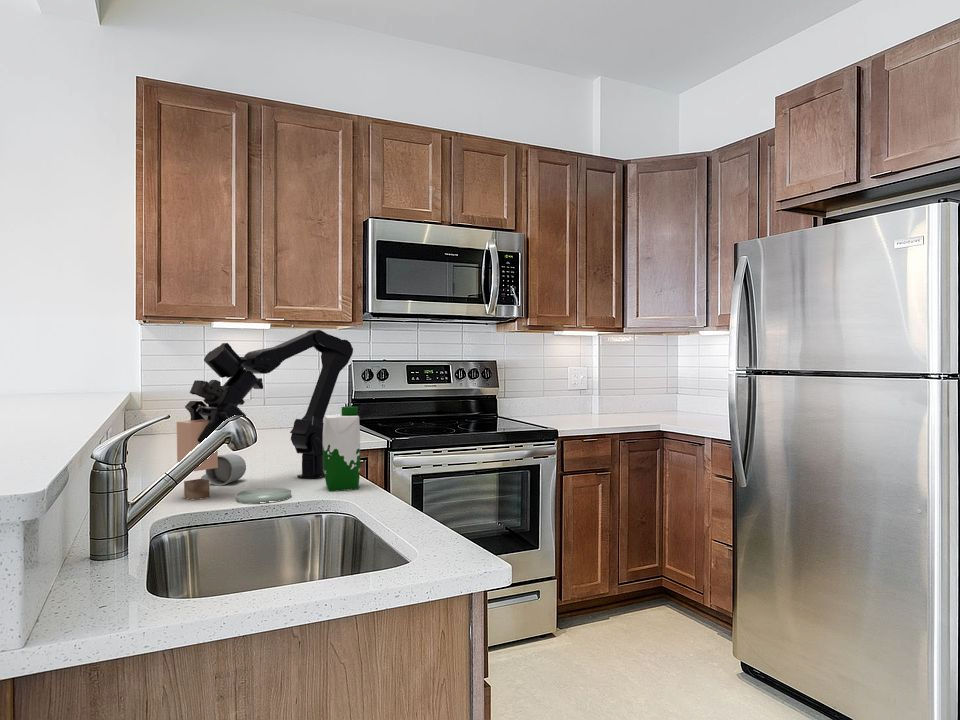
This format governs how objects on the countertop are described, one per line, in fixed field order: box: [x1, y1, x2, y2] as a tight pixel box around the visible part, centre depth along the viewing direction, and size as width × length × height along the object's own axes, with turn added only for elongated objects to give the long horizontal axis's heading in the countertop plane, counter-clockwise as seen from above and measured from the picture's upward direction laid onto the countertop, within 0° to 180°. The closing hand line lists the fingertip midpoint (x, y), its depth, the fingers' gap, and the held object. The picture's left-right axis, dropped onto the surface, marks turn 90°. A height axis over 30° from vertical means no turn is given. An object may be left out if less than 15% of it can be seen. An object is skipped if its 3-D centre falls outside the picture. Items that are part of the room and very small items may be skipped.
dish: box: [235, 487, 292, 504], centre depth 149 cm, size 12×12×1 cm
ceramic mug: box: [200, 453, 247, 486], centre depth 168 cm, size 11×8×8 cm
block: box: [183, 478, 211, 500], centre depth 150 cm, size 4×4×4 cm
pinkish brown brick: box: [176, 419, 219, 472], centre depth 150 cm, size 6×6×11 cm
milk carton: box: [323, 405, 361, 492], centre depth 160 cm, size 9×9×20 cm
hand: (191, 440), depth 149 cm, fingers closed on pinkish brown brick, 6 cm apart
